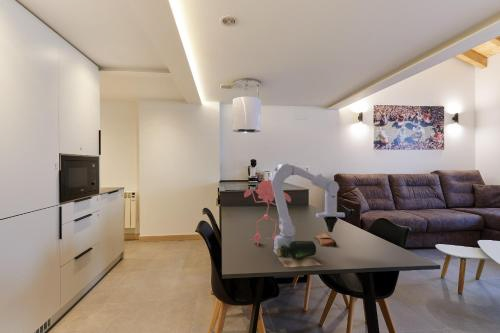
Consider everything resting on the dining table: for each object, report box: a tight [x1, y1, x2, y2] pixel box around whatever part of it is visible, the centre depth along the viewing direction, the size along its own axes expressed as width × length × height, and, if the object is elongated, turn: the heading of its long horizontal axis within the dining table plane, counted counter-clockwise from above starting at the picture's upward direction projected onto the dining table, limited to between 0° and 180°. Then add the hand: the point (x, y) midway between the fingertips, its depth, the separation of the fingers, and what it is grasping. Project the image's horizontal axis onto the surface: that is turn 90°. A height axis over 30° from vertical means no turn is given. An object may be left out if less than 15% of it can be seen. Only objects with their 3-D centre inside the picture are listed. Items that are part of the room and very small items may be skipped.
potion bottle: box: [276, 240, 317, 259], centre depth 121 cm, size 8×8×18 cm
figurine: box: [243, 179, 292, 246], centre depth 147 cm, size 15×26×35 cm, turn 84°
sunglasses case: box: [314, 231, 337, 248], centre depth 149 cm, size 18×7×7 cm
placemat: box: [277, 256, 322, 269], centre depth 119 cm, size 16×11×1 cm
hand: (330, 231), depth 131 cm, fingers closed
